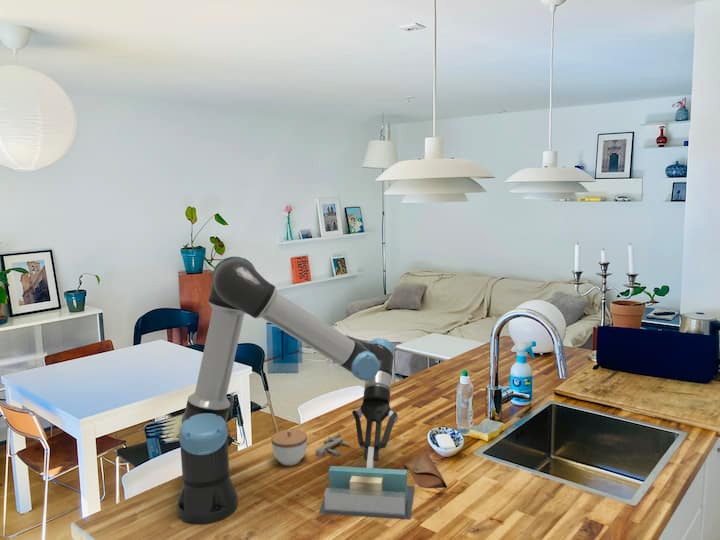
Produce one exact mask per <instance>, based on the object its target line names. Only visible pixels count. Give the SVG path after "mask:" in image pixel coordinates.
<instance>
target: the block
mask: <svg viewBox="0 0 720 540" xmlns="http://www.w3.org/2000/svg"><path fill="white" fill-rule="evenodd" d="M350 489H357V490H373V491H383V478H382V477H364V476H351V479H350Z"/></svg>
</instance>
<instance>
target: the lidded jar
mask: <svg viewBox="0 0 720 540" xmlns="http://www.w3.org/2000/svg"><path fill="white" fill-rule="evenodd" d="M270 438H271V439H270V440H271V441H270V442H271V449H272V454H273V456H274V457H275V458H276V460H277V461H278V462H280V464H281V465H283V466H294V465H298V464H299V463H300V462H301V460H302V459H303V458H304V456H305V454H306V452H307V448H308V435H307V433H306V432H305V431H303V430H300V429H293V428H292V429H284V430H280V431H277V432H274V434H273V435H272V436H271V437H270Z"/></svg>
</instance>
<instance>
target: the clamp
mask: <svg viewBox="0 0 720 540" xmlns="http://www.w3.org/2000/svg"><path fill="white" fill-rule="evenodd" d="M338 436H339V438H337V437H338ZM340 436H341V433H340V432H338V433H337V434H335V435H334V436H333V435H332V436H328V437H327V439H326V440H325V439H324V440H323V443H324V444H325V445H323V446H321V447H318V449H316V450H315V456H316V457H318V458H320V457H321V459H324V457H327V453H326V452H328V453H331V454H332V455H333V456H336V457H338V456H340V455H341V450H340V451H339V450H337V449H331V447H333V446H335V445H338V446H342V445H343V446H347V447H351V444H349V443H348V442H345V441H344V439H343V438H342V437H340ZM336 438H337V439H336ZM329 441H330V442H329ZM327 442H328V443H327Z"/></svg>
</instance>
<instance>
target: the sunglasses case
mask: <svg viewBox="0 0 720 540" xmlns="http://www.w3.org/2000/svg"><path fill="white" fill-rule="evenodd" d="M402 465H403V468H405V470H409V472H410V474H411V476H412V478H413V480H414V482H415V484H416V485H417V487H420V488H423V489H441V488H442V489H443V488H444V489H448V485H447V483H446V481H445V479H444V478H443V476H442V474H441V473H440V471H439V469H438V467H437V466H436V465H435V463H434V461H433V460H432V458H431V456H430V455H429V454H428V452H425V451H424V453H423V454H421V455H420V456H418V457H416V458H414V459H412V460H410V461H409V462H407V463H404V464H402Z"/></svg>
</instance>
